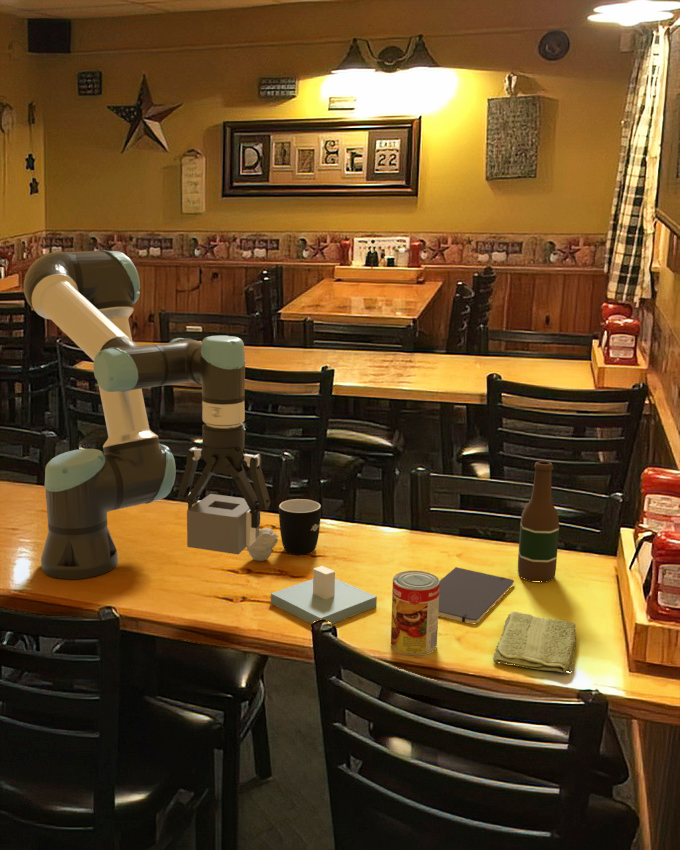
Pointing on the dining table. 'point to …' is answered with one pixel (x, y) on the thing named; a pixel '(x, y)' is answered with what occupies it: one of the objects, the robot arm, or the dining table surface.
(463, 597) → the notebook
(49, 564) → the robot arm
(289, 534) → the mug
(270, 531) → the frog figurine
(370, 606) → the base
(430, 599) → the canned food
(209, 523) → the slotted gray box
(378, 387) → the dining table surface
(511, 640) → the washcloth
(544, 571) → the beer bottle
